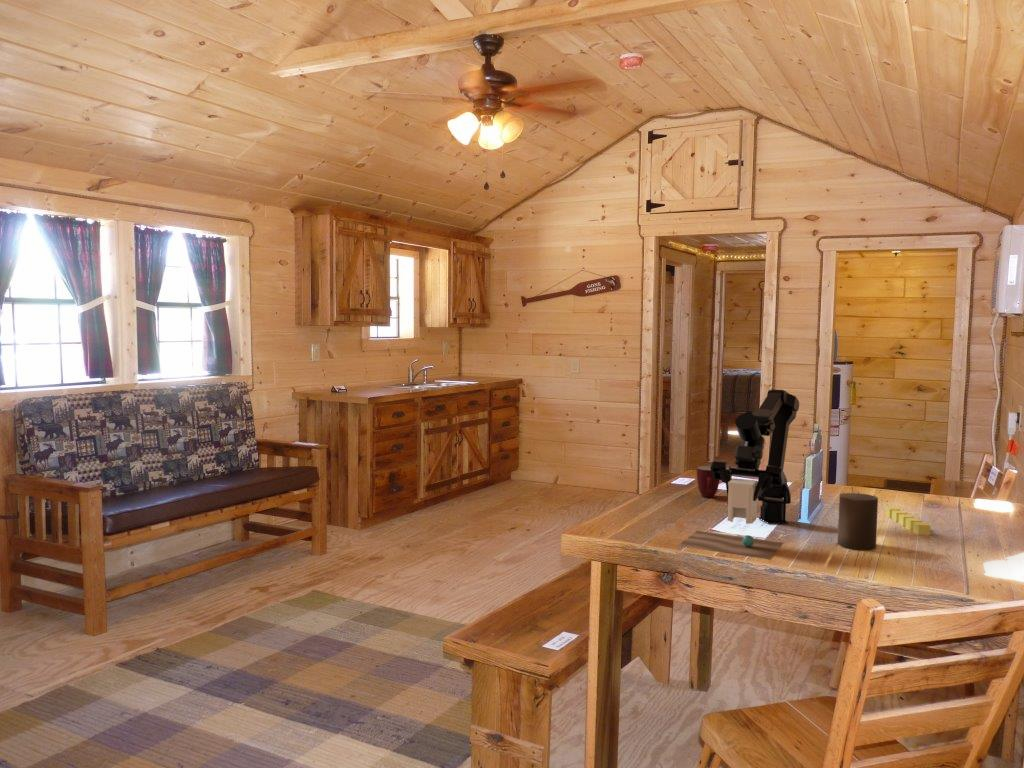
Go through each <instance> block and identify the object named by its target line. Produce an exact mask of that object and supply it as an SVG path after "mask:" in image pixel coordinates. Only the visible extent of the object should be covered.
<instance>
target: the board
mask: <svg viewBox="0 0 1024 768" xmlns="http://www.w3.org/2000/svg"><path fill="white" fill-rule="evenodd" d="M743 537H744V536H739V535H729V534H723V533H716V532H709V531H708V532H707V531H701V530H696V531H695V532H693V533H692V534H691V535H689V536H688V537H687V538H686V539H684V540H683V541H682V542H681V543H679V544H678V545H677V546H678V547H683V548H688V549H689V548H691V549H697V550H702V551H703V550H704V551H710V552H715V553H716V552H717V553H724V554H729V555H730V554H731V555H737V556H744V557H750V558H758V559H763V560H772V558H773V556H774V555H775V554H776V553H777V552H778V550H779V549H780V548H781V547H782V546H783V544H784V542H780V541H773V540H768V539H767V540H766V539H760V538H753V539H754V544H753V545H752V546H750V547H747V546H745V545H744V544H743V542H742V540H743Z"/></svg>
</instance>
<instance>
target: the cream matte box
mask: <svg viewBox="0 0 1024 768" xmlns="http://www.w3.org/2000/svg"><path fill="white" fill-rule="evenodd" d="M757 483H758V480H755V479H754V480H753V479H752V480H751V479H742V478H733V477H732V480H731V481H729V482H728V485H729V488H728V496H727V521H728V522H730V523H733V521H734V519H735V518H740V519H745V525H749V524H753V523H754V522H756V520H757V518H758V517H757V512H758V511H757V509H758V499H757V500H756V501H754V500H753V498H754V492H755V489H756V486H757Z"/></svg>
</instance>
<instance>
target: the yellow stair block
mask: <svg viewBox="0 0 1024 768" xmlns="http://www.w3.org/2000/svg"><path fill="white" fill-rule="evenodd" d="M885 515H886V516H887V517H886V516H885ZM884 516H885V517H886V518H888V517H889V518H892V519H893V520H894V521H893V520H892V519H891V520H892V521H893V522H895V521H896V522H895V523H899V524H898V525H900V524H901V525H900V526H902V527H906V529H907V530H908V531H911V532H913V533H915V534H916V535H918V536H931V524H929V523H927V522H923V520H921V519H920V518H917V517H915V516H913V515H912V514H908V513H907V512H906V511H904V510H901V509H900V508H899V507H896V506H885V508H884ZM889 518H888V519H889Z"/></svg>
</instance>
